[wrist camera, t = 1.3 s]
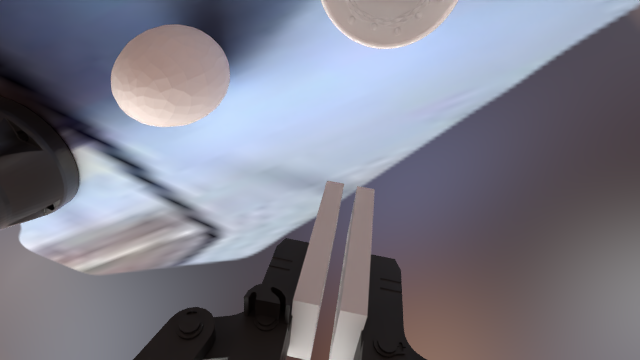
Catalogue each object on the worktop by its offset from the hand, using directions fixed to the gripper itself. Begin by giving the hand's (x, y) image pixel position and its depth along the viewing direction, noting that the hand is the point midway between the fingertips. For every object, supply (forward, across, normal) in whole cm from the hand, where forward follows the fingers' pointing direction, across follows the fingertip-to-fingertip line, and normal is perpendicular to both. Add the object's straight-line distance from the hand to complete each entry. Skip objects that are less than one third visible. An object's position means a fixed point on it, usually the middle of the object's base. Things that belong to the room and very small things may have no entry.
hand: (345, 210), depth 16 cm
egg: (+19, -15, 0) cm, 24 cm away
